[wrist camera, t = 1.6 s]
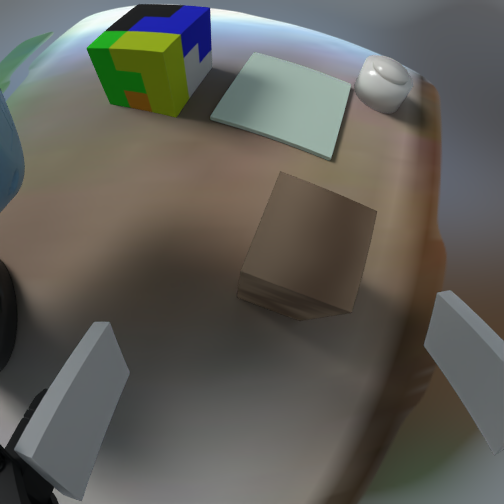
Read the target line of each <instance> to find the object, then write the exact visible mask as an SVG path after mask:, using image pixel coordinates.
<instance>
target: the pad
mask: <svg viewBox="0 0 504 504" xmlns="http://www.w3.org/2000/svg"><path fill="white" fill-rule="evenodd" d="M350 88H351V84H349V83H347V82H344V81H342V80H339V79H337V78H334V77H332V76H329V75H326V74H324V73H321V72H318V71H315V70H313V69H310V68H307V67H304V66H301V65H298V64H295V63H291V62H288V61H285V60H281V59H278V58H274V57H271V56H267V55H263V54H260V53H256V52H254V53H253V54H252V56H251V57H250V59H249V60H248V61H247V63H246V64H245V65H244V67H243V68H242V70H241V71H240V73H239V74H238V75H237V77H236V78H235V80H234V81H233V83H232V84H231V86H230V87H229V88H228V90H227V91H226V93H225V94H224V96H223V97H222V99H221V101H220V102H219V104H218V105H217V107H216V108H215V110H214V111H213V113H212V114H211V116H210V120H213V121H216V122H220V123H223V124H227V125H230V126H233V127H236V128H240V129H243V130H246V131H249V132H252V133H255V134H258V135H261V136H264V137H267V138H270V139H273V140H276V141H279V142H282V143H284V144H287V145H290V146H292V147H295V148H298V149H300V150H303V151H306V152H308V153H311V154H313V155H316V156H318V157H321V158H323V159H326V160H328V161H330V159H331V157H332V154H333V150H334V147H335V143H336V140H337V136H338V132H339V129H340V125H341V122H342V118H343V114H344V110H345V107H346V103H347V99H348V95H349V91H350Z"/></svg>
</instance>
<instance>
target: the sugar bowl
mask: <svg viewBox="0 0 504 504" xmlns="http://www.w3.org/2000/svg"><path fill="white" fill-rule="evenodd" d="M412 87H413V80H412V78H411V76H410V75H409V73H408V72H407V70H406V69H405V68H404V67H403V66H402V65H401V64H400V63H399V62H397V61H395V60H394V59H392V58H389V57H386V56H378V55H372V56H369V57H367V59H366V60H365V63H364V65H363V67H362V69H361V71H360V73H359V75H358V78H357V80H356V82H355V84H354V90H355V93H356V95H357V96H358V98H359V99H360V100H361V101H362V102H363V103H364V104H365V105H367V106H368V107H370V108H371V109H373V110H376V111H378V112H381V113H386V114H390V113H394V112H396V111H397V109H398V108H399V106H400V105H401V104H402V102H403V101H404V99H405V98H406V96H407V95H408V93H409V92H410V90H411V89H412Z"/></svg>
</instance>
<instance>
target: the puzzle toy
mask: <svg viewBox="0 0 504 504" xmlns="http://www.w3.org/2000/svg"><path fill="white" fill-rule="evenodd" d="M86 49H87V51H88V53H89V56H90V58H91V61H92V63H93V65H94V68H95V70H96V72H97V75H98V77H99V79H100V82H101V84H102V86H103V89H104V91H105V93H106V95H107V98H108V100H109V102H110V104H113V105H118V106H124V107H129V108H135V109H140V110H145V111H149V112H154V113H159V114H163V115H168V116H172V117H176V118H177V116H178V115H179V113H180V112H181V110H182V109H183V107H184V106H185V104H186V103H187V101H188V100H189V98H190V97H191V96H192V94H193V93H194V91H195V90H196V89H197V87H198V86H199V84H200V83H201V82H202V80H203V79H204V78H205V76H206V75H207V74H208V72H209V71H210V70H211V68H212V51H211V21H210V8H208V7H196V6H185V5H162V4H139V5H137V6H135V7H134V8H133V9H131V10H130V11H129V12H128V13H126V14H125V15H124V16H123V17H121V18H120V19H119V20H118V21H116V22H115V23H114V24H113V25H112V26H110V27H109V28H108V29H107V30H106V31H105V32H104V33H102V34H101V35H100V36H99V37H98V38H97V39H96V40H95V41H94V42H93V43H91V44H90V45H89V46H88V47H87V48H86Z"/></svg>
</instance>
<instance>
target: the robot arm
mask: <svg viewBox="0 0 504 504" xmlns="http://www.w3.org/2000/svg"><path fill="white" fill-rule="evenodd" d="M24 169H25V165H24V156H23V151H22V147H21V143H20V140H19V136H18V133H17V130H16V127H15V125H14V122H13V119H12V116H11V114H10V111H9V109H8V106H7V103H6V101H5V99H4V96H3V94H2V91H1V89H0V213H1V211H2V210H3V209H4V208H5V207H6V206H7V204H8V203H9V202H10V201H11V200H12V199H13V198H14V197H15V195H16V194H17V193H18V191H19V189H20V187H21V185H22V182H23V179H24ZM16 327H17V309H16V299H15V293H14V288H13V284H12V281H11V278H10V276H9V273H8V271H7V269H6V267H5V266H4V264H3V263H2V262H1V260H0V371H1V370H2V369H3V368H4V366H5V365H6V363H7V362H8V360H9V358H10V355H11V353H12V350H13V346H14V342H15V336H16ZM424 347H425V348H426V349H427V351H428V352H429V354H430V355H431V356H432V358H433V359H434V361H435V362H436V364H437V365H438V366H439V368H440V369H441V371H442V372H443V374H444V375H445V377H446V378H447V379H448V381H449V383H450V384H451V386H452V387H453V388H454V390H455V392H456V393H457V395H458V396H459V398H460V399H461V401H462V402H463V404H464V405H465V407H466V408H467V410H468V412H469V414H470V415H471V417H472V418H473V420H474V422H475V423H476V425H477V427H478V428H479V430H480V432H481V433H482V435H483V437H484V438H485V440H486V442H487V444H488V446H489V447H490V449H491V451H492V453H493V455H496V454H497V453H499V452H501V451H502V450H504V341H503V340H502V339H501V338H500V337H499V336H498V335H497V334H496V333H495V332H494V331H493V330H492V329H491V328H490V327H489V326H488V325H487V324H486V323H485V322H484V321H483V320H482V319H481V318H480V317H479V316H478V315H477V314H476V313H475V312H474V311H473V310H472V309H471V308H470V307H468V306H467V305H466V304H465V303H464V302H463V301H462V300H461V299H460V298H459V297H458V296H457V295H455V294H454V293H453V292H452V291H451V290H448V291H443V292H438V293H437V295H436V300H435V304H434V309H433V313H432V317H431V321H430V325H429V328H428V332H427V336H426V339H425V342H424ZM129 374H130V372H129V369H128V367H127V365H126V362H125V360H124V357H123V355H122V353H121V350H120V348H119V345H118V343H117V340H116V337H115V335H114V332H113V330H112V327H111V324H110V322H94V323H93V324H92V325H91V327H90V328H89V329H88V331H87V332H86V334H85V335H84V337H83V338H82V339H81V341H80V342H79V344H78V345H77V347H76V348H75V349H74V351H73V352H72V354H71V355H70V357H69V358H68V360H67V361H66V363H65V364H64V366H63V367H62V369H61V370H60V372H59V373H58V375H57V377H56V378H55V380H54V381H53V383H52V384H51V386H50V388H49V389H44V390H43V391H42V392H40V393H39V394H38V395H37V396H36V397H35V398H34V400H33V401H32V403H31V404H30V406H29V410H28V409H27V411H26V413H25V414H24V418H22V419H21V421H20V423H19V425H18V426H17V428H16V430H15V432H14V433H13V435H12V437H11V439H10V440H9V442H8V444H7V446H6V447H5V449H4V448H3V447H2V446H1V445H0V504H59V503H58V501H57V498H56V497H55V495H54V493H52V491H53V489H54V488H56V489H57V490H58V491H59V492H61V493H62V494H63V495H65V496H68V497H71V498H73V499H76V500H79V501H82V499H83V496H84V493H85V490H86V487H87V484H88V481H89V478H90V475H91V472H92V469H93V466H94V463H95V460H96V458H97V455H98V452H99V449H100V447H101V444H102V441H103V439H104V436H105V433H106V431H107V428H108V426H109V423H110V420H111V418H112V415H113V413H114V410H115V408H116V405H117V403H118V400H119V398H120V396H121V393H122V391H123V388H124V386H125V384H126V381H127V379H128V377H129Z"/></svg>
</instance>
